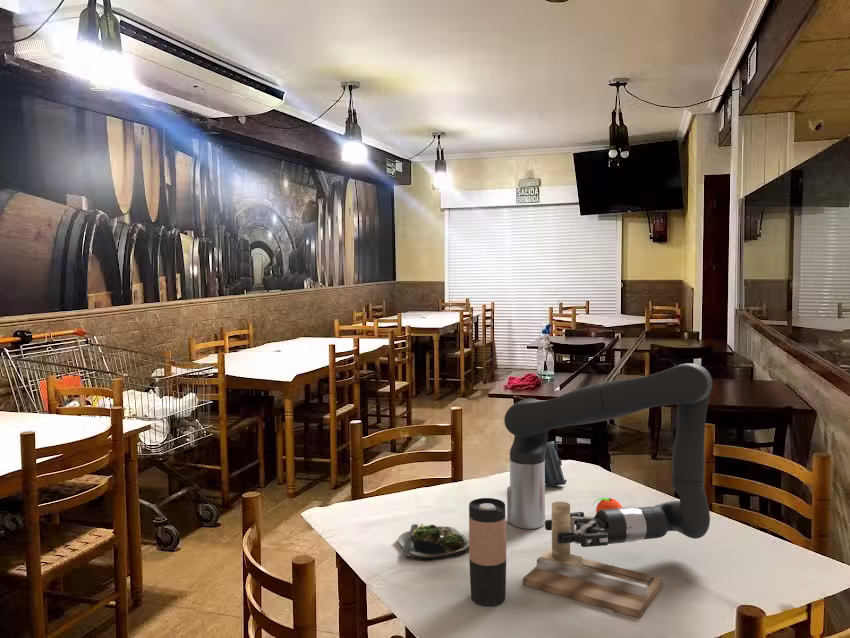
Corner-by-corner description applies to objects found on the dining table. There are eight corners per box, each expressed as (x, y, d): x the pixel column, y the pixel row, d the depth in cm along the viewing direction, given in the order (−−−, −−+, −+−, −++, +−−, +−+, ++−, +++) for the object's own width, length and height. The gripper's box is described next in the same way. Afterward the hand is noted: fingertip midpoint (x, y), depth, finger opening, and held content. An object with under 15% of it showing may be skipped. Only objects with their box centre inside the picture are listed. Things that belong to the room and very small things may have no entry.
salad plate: (384, 535, 171) (383, 518, 170) (448, 525, 177) (448, 508, 176) (407, 567, 152) (407, 548, 152) (478, 554, 158) (478, 536, 158)
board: (522, 584, 142) (522, 569, 142) (553, 557, 155) (553, 543, 155) (639, 618, 128) (639, 600, 128) (662, 584, 141) (662, 569, 141)
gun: (507, 438, 210) (553, 429, 206) (521, 489, 210) (567, 481, 206) (505, 440, 208) (551, 431, 203) (519, 492, 208) (566, 483, 203)
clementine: (590, 527, 173) (590, 500, 172) (593, 517, 179) (593, 492, 179) (621, 531, 170) (621, 504, 169) (624, 521, 176) (624, 495, 176)
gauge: (539, 565, 148) (539, 504, 147) (550, 556, 152) (550, 497, 151) (573, 574, 143) (573, 511, 142) (583, 564, 148) (583, 503, 147)
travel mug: (467, 590, 140) (465, 498, 139) (502, 588, 141) (501, 496, 139) (472, 608, 133) (471, 511, 131) (510, 606, 133) (509, 509, 132)
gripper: (606, 498, 156) (540, 504, 153) (636, 521, 142) (563, 527, 139) (606, 529, 157) (540, 535, 154) (636, 554, 143) (563, 562, 140)
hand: (551, 531), depth 147 cm, fingers open, 7 cm apart
